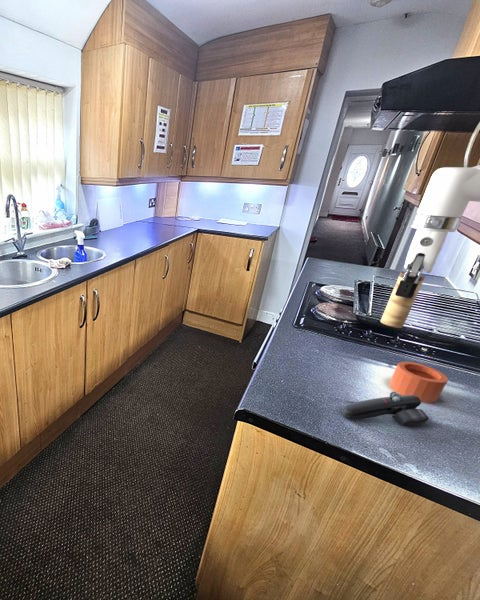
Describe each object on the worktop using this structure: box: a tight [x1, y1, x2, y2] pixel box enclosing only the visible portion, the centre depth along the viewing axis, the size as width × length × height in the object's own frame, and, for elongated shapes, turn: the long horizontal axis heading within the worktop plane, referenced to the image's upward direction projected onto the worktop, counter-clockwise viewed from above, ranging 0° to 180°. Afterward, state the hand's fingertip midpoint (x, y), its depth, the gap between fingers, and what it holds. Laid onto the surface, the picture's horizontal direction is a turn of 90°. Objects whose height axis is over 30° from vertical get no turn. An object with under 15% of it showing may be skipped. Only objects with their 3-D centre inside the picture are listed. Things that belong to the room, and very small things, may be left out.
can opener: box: [342, 390, 430, 426], centre depth 75 cm, size 18×7×6 cm, turn 91°
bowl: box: [388, 361, 449, 404], centre depth 83 cm, size 9×9×7 cm
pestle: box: [379, 271, 426, 329], centre depth 85 cm, size 5×5×14 cm
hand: (404, 293), depth 84 cm, fingers closed on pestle, 4 cm apart
